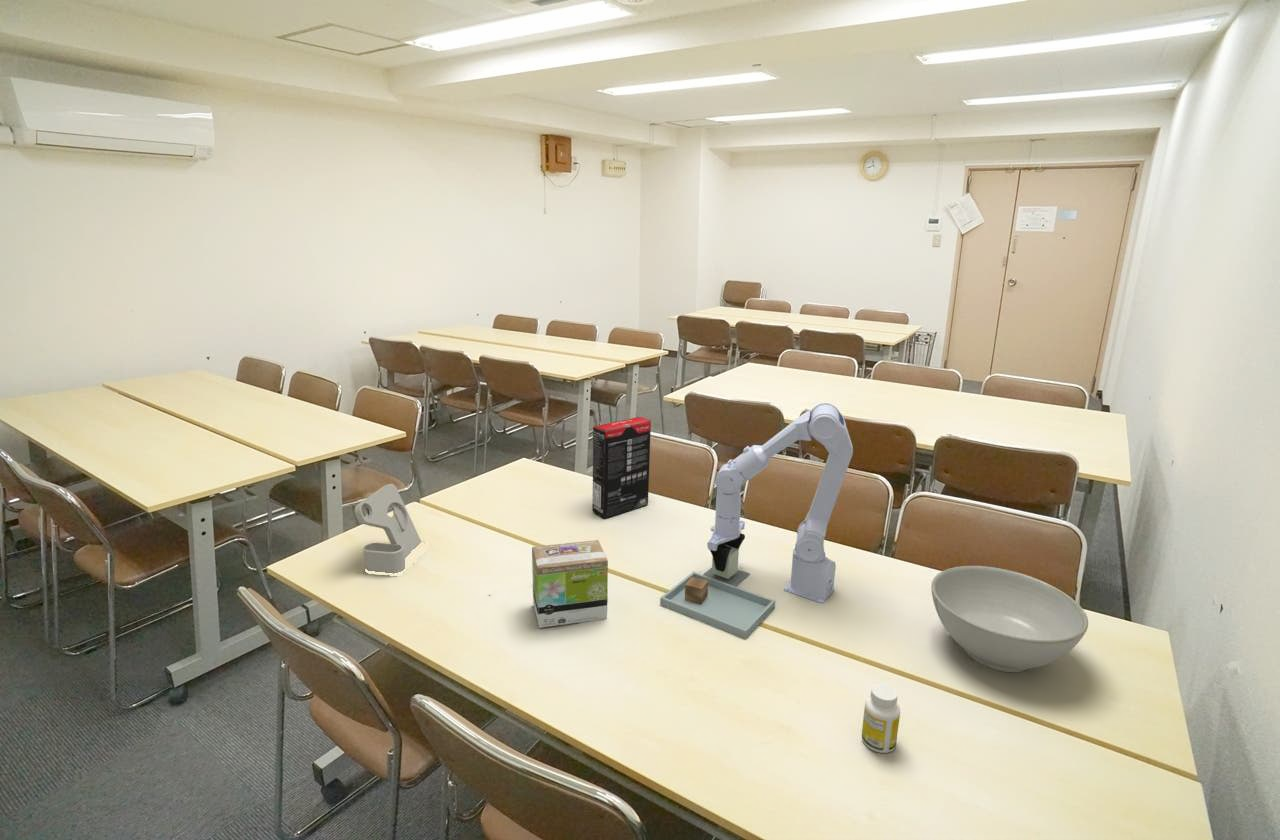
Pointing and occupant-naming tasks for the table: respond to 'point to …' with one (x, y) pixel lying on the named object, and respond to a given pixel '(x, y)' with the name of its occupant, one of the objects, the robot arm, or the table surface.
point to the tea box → (569, 583)
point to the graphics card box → (621, 466)
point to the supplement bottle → (881, 719)
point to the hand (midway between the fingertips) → (725, 565)
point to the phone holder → (388, 530)
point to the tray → (721, 606)
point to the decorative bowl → (1007, 617)
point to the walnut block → (696, 590)
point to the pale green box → (728, 564)
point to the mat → (733, 580)
